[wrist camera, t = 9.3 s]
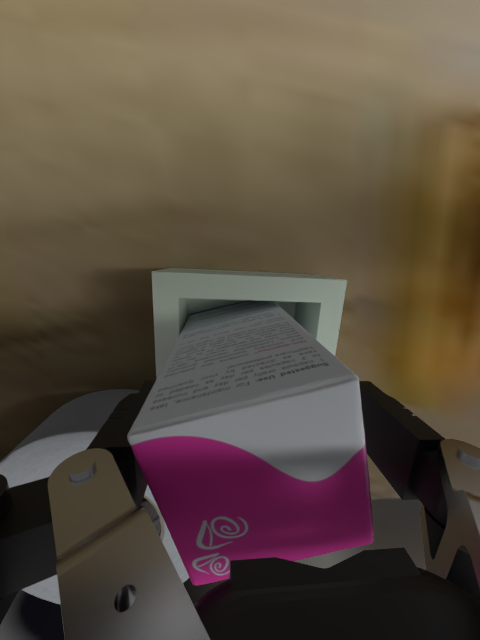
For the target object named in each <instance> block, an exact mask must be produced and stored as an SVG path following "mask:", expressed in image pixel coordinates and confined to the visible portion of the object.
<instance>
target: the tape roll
mask: <svg viewBox="0 0 480 640" xmlns="http://www.w3.org/2000/svg"><path fill="white" fill-rule="evenodd" d="M139 391H140V390H132V389H110V390H103V391H97V392H93V393H89V394H86V395H83V396H80V397H78V398H76V399H73V400H71V401H69V402H68V403H66V404H64V405H63V406H61V407H60V408H58V409H57V410H56V411H55V412H53V413H52V414H51V415H50V416H49V417H48V418H47V419H46V420H45V421H43V422H42V423H41V424H40V425H39V426H38V427H37V428H36V429H35V430H34V431H33V432H31V433H30V434H29V435H28V436H27V437H26V438H25V439H24V440H23V441H22V442H21V443H20V444H18V445H17V446H16V447H15V448H14V449H13V450H12V451H11V452H10V453H9V454H8V455H7V456H6V457H5V458H3V459H2V460H1V462H0V474H1V475H4V476H5V477H6V479H7V481H8V486H9V488H11V487H14V486H18V485H22V484H25V483H29V482H33V481H36V480H40V479H43V478H46V477H49V476H50V475H51V473H52V472H53V470H54V469H55V468H56V467H57V466H58V465H59V464H60V463H61V462H63V461H64V460H65V459H67V458H69V457H70V456H72V455H74V454H76V453H78V452H81V451H84V450H86V449H87V448H88V446H89V445H90V443H91V442H92V440H93V439H94V438H95V436H96V435H97V433H98V432H99V430H100V429H101V427H102V426H103V425H104V423H105V422H106V420H108V417H109V416H110V415H111V413H112V412H113V410H114V409H115V407H116V406H117V404H118V403H119V402H120V401H121V400H122V399H123V398H125V397H126V396H128V395H129V394H131V393H138V392H139ZM144 498H146V499H147V500H148V501H145V502H142V504H141V506H143V507H144V508H145V509H146V511H147V513H148V514H149V516H150V518H151V520H152V522H153V524H154V526H155V528H156V531H157V533H158V535H159V537H160V539H161V541H162V543H163V545H164V547H165V549H166V551H167V553H168V555H169V557H170V559H171V561H172V563H173V565H174V567H175V569H176V571H177V573H178V575H179V577H180V579H181V581H182V583H183V582H185V581H186V580H187V579H188V578H189V575H188V573H187V571H186V568H185V566H184V564H183V562H182V559H181V557H180V555H179V553H178V550H177V548H176V546H175V544H174V541H173V539H172V537H171V535H170V532H169V530H168V528H167V526H166V523H165V521H164V519H163V517H162V515H161V513H160V510H159V508H158V506H157V504H156V501H155V499H154V497H153V495H152V493H151V490H150V488H149V486H148V485H147V488H146V491H145V495H144ZM22 590H24V591H25V592H27V593H30V594H32V595H34V596H36V597H39V598H41V599H45V600H48V601H51V602H54V603H57V604H61V603H60V595H59V586H58V578H57V575H55V576H52V577H50V578H48V579H45V580H43V581H41V582H38V583H36V584H33V585H31V586H29V587H26V588H24V589H22Z"/></svg>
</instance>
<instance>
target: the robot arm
mask: <svg viewBox="0 0 480 640" xmlns="http://www.w3.org/2000/svg"><path fill="white" fill-rule="evenodd" d="M154 383H155V381H145V382H144V384H143V386H142V387H141V389H140V391H139V392H138V393H131V394H129V395H128V396H126V397H125V398H123V399H122V400H121V401H120V402H119V403H118V404H117V406H116V407H115V409H114V410H113V412H112V413H111V415H110V416H109V417H108V420H106V422H105V423H104V425H103V426H102V427H101V429H100V430H99V432H98V433H97V435H96V436H95V438H94V439H93V440H92V442H91V443H90V445H89V446H88V448H87V449H86V450H84V451H81V452H78V453H76V454H74V455H72V456H70V457H69V458H67V459H65V460H64V461H63V462H61V463H60V464H59V465H58V466H57V467H56V468H55V469H54V470H53V472H52V473H51V475H50V476H49V477H46V478H43V479H40V480H36V481H33V482H29V483H25V484H22V485H18V486H14V487H11V488H9V486H8V481H7V479H6V477H5V476H4V475H1V474H0V624H1V622H2V620H3V619H4V617H5V615H6V613H7V611H8V609H9V608H10V606H11V604H12V602H13V601H14V599H15V597H16V595H17V593H18V592H19V590H22V589H24V588H26V587H29V586H31V585H33V584H36V583H38V582H41V581H43V580H45V579H48V578H50V577H52V576H55V575H57V578H58V586H59V595H60V603H61V611H62V618H63V627H64V636H65V640H480V448H478V447H476V446H474V445H471V444H469V443H466V442H463V441H460V440H455V439H445V438H443V437H442V436H441V435H440V434H438V433H437V432H436V431H435V430H433V429H432V428H431V427H430V426H428V425H427V424H426V423H425V422H423V421H422V420H421V419H420V418H418V417H417V416H414V414H413V413H412V412H411V411H409V410H408V409H406V407H404V406H403V405H402V404H401V403H399V402H398V401H397V400H396V399H394V398H392V397H390V396H388V395H386V394H385V393H383V392H382V391H381V390H380V389H379V388H377V387H376V386H375V385H374V384H372V383H371V382H369V381H359V384H360V395H361V407H362V415H363V425H364V432H365V443H366V452H367V454H368V455H369V457H370V458H371V459H372V461H373V462H374V463H375V465H376V466H377V467H378V469H379V470H380V471H381V472H382V474H383V475H384V476H385V478H386V479H387V480H388V482H389V483H390V484H391V486H392V487H393V488H394V490H395V491H396V492H397V494H398V495H399V496H400V497H401V499H402V500H411V499H419V500H420V501H421V502H422V505H421V508H420V521H421V530H422V539H423V547H424V556H425V565H426V570H423V569H421V568H418V567H416V566H415V564H414V562H413V561H412V559H411V558H410V556H409V555H408V553H407V551H406V550H405V548H392V549H379V550H365V551H362V552H360V553H358V554H356V555H354V556H352V557H350V558H348V559H346V560H344V561H342V562H340V563H338V564H336V565H334V566H332V567H330V568H326V569H323V568H318V567H313V566H309V565H305V564H301V563H297V562H293V561H289V560H285V559H281V558H277V557H271V558H257V559H244V560H230V576H229V580H227V581H225V582H223V583H221V584H219V585H217V586H216V587H214V588H213V589H212V590H210V591H208V592H207V593H206V594H205V595H204V596H203V597H202V598H200V599H199V600H198V601H197V602H196V603H195V605H193V604H192V602H191V600H190V597H189V595H188V593H187V591H186V589H185V587H184V585H183V583H182V581H181V579H180V577H179V575H178V573H177V571H176V569H175V567H174V565H173V563H172V561H171V559H170V557H169V555H168V553H167V551H166V549H165V547H164V545H163V543H162V541H161V539H160V537H159V535H158V533H157V531H156V528H155V526H154V524H153V522H152V520H151V518H150V516H149V514H148V513H147V511H146V509H145V508H144V507H143V506H141V504H142V501H143V498H144V495H145V491H146V488H147V485H148V484H147V482H146V479H145V477H144V475H143V473H142V470H141V468H140V465H139V463H138V462H137V459H136V457H135V455H134V452H133V450H132V447H131V445H130V443H129V442H128V438H127V435H128V433H129V431H130V429H131V427H132V425H133V423H134V421H135V420H136V418H137V416H138V414H139V413H140V410H141V408H142V406H143V405H144V403H145V401H146V398H147V397H148V395H149V393H150V391H151V389H152V387H153V385H154Z"/></svg>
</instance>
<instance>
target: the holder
mask: <svg viewBox="0 0 480 640" xmlns="http://www.w3.org/2000/svg"><path fill="white" fill-rule="evenodd" d="M346 285H347V280H344V279H338V278H332V277H326V276H320V275H314V274H299V273H277V272H256V271H234V270H212V269H190V268H167V269H162V270H157V271H152V291H153V314H154V337H155V360H156V379H157V377H158V375H159V373H160V372H161V370H162V368H163V366H164V364H165V362H166V360H167V358H168V356H169V354H170V353H171V350H172V349H173V347H174V345H175V343H176V341H177V339H178V337H179V335H180V333H181V331H182V329H183V327H184V325H185V323H186V322H187V320H188V318H189V316H190V314H192V313H196V312H200V311H205V310H209V309H213V308H218V307H222V306H226V305H231V304H235V303H239V302H243V301H248V300H256V301H274V302H275V303H277V304H278V305H279V306H280V307H281V308H282V309H283V310H284V311H285V312H286V313H288V314H289V315H290V316H291V317H292V318H293V319H294V320H295V321H296V322H297V323H299V324H300V325H301V326H302V327H303V328H304V329H305V330H306V331H308V332H309V333H310V334H311V335H312V336H313V337H314V338H315V339H316V340H317V341H318V342H319V343H321V344H322V345H323V346H324V347H325V348H326V349H327V350H329V351H330V352H331V353H332V354H333V355H334V356H335V353H336V347H337V341H338V335H339V328H340V322H341V316H342V310H343V303H344V297H345V291H346Z"/></svg>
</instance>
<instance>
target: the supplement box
mask: <svg viewBox="0 0 480 640" xmlns="http://www.w3.org/2000/svg"><path fill="white" fill-rule="evenodd" d="M127 438H128V442H129V443H130V445H131V447H132V450H133V452H134V455H135V457H136V459H137V462H138V463H139V465H140V468H141V470H142V473H143V475H144V477H145V479H146V482H147V484H148V486H149V488H150V490H151V493H152V495H153V497H154V499H155V501H156V504H157V506H158V508H159V510H160V513H161V515H162V517H163V519H164V521H165V523H166V526H167V528H168V530H169V532H170V535H171V537H172V539H173V541H174V544H175V546H176V548H177V550H178V553H179V555H180V557H181V559H182V562H183V564H184V566H185V568H186V571H187V573H188V575H189V577H190V580H191V582H192V583H193V585H201V584H207V583H211V582H216V581H220V580H224V579H228V578H229V576H230V560H244V559H257V558H271V557H277V558H281V559H285V560H289V561H295V560H300V559H304V558H309V557H313V556H318V555H322V554H326V553H330V552H335V551H339V550H344V549H349V548H352V547H357V546H362V545H367V544H370V543H372V542H373V539H374V536H373V519H372V505H371V496H370V482H369V471H368V463H367V452H366V443H365V432H364V425H363V415H362V407H361V395H360V384H359V378H358V376H356V375H355V374H354V373H353V372H352V371H351V370H350V369H348V368H347V367H346V366H345V365H344V364H343V363H342V362H341V361H340V360H338V359H337V358H336V357H335V356H334V355H333V354H332V353H331V352H330V351H329V350H327V349H326V348H325V347H324V346H323V345H322V344H321V343H319V342H318V341H317V340H316V339H315V338H314V337H313V336H312V335H311V334H310V333H309V332H308V331H306V330H305V329H304V328H303V327H302V326H301V325H300V324H299V323H297V322H296V321H295V320H294V319H293V318H292V317H291V316H290V315H289V314H288V313H286V312H285V311H284V310H283V309H282V308H281V307H280V306H279V305H278V304H277V303H275V302H274V301H256V300H248V301H243V302H239V303H235V304H231V305H226V306H222V307H218V308H213V309H209V310H205V311H200V312H196V313H192V314H190V316H189V318H188V320H187V322H186V323H185V325H184V327H183V329H182V331H181V333H180V335H179V337H178V339H177V341H176V343H175V345H174V347H173V349H172V350H171V353H170V354H169V356H168V358H167V360H166V362H165V364H164V366H163V368H162V370H161V372H160V373H159V375H158V377H157V379H156V381H155V383H154V385H153V387H152V389H151V391H150V393H149V395H148V397H147V398H146V401H145V403H144V405H143V406H142V408H141V410H140V413H139V414H138V416H137V418H136V420H135V421H134V423H133V425H132V427H131V429H130V431H129V433H128V435H127Z"/></svg>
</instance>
